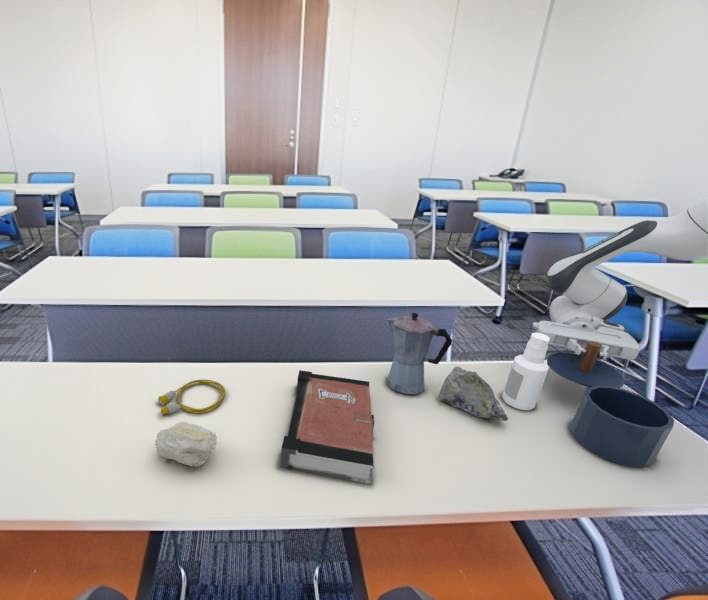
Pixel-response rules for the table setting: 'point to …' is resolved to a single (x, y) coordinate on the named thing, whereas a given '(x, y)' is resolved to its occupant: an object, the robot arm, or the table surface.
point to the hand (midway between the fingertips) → (592, 354)
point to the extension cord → (177, 406)
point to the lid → (585, 368)
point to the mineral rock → (471, 394)
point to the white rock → (186, 443)
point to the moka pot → (412, 352)
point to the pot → (621, 426)
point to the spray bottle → (527, 374)
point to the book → (330, 428)
